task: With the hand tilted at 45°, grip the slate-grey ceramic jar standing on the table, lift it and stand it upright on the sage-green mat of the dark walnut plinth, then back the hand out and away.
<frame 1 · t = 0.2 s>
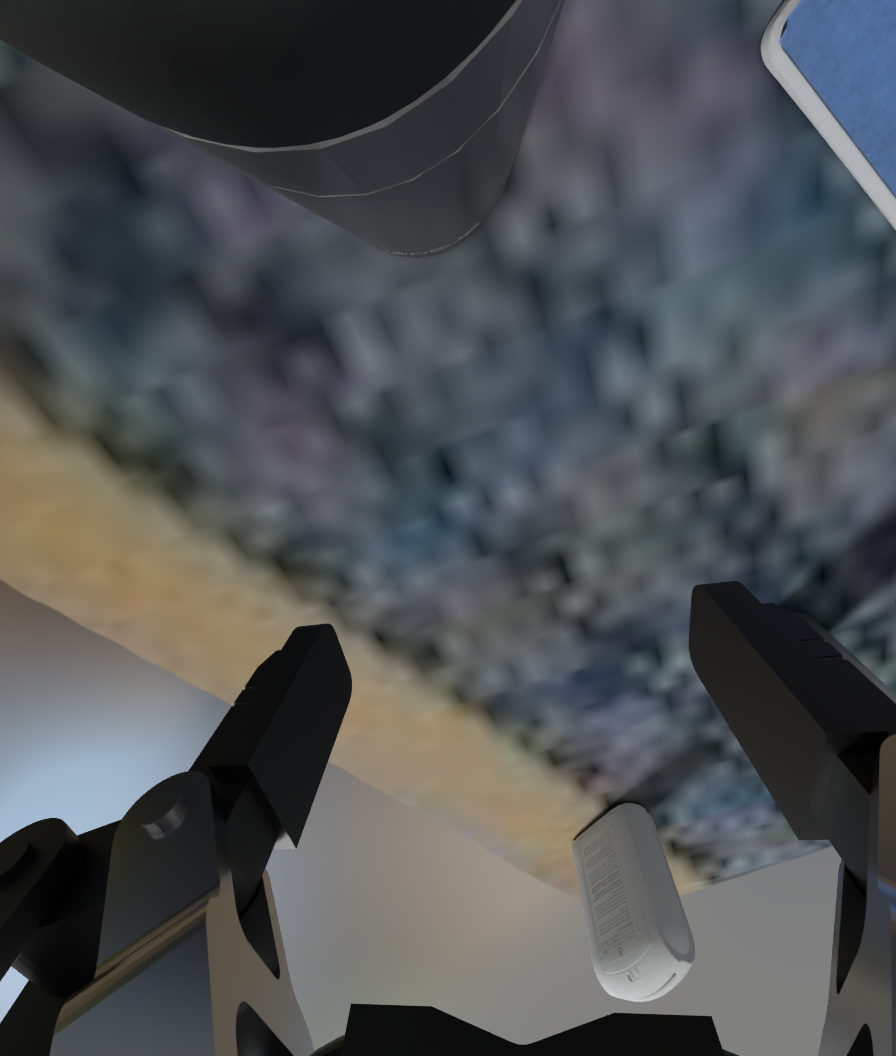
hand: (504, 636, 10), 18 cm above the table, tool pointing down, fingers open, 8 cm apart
ceramic jar: (781, 638, 31), on the table
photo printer: (607, 824, 45), on the table
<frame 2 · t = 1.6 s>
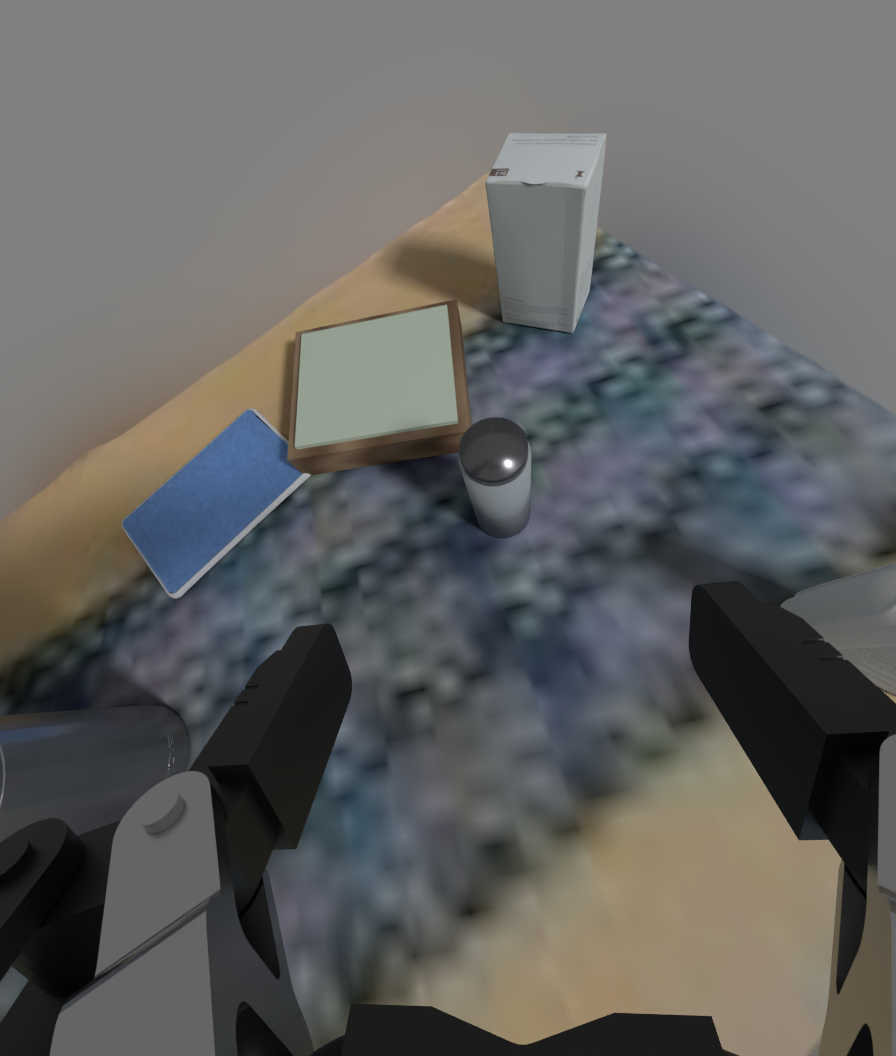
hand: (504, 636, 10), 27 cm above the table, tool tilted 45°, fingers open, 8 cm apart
plinth: (385, 398, 46), on the table
blue notebook: (222, 500, 46), on the table
ceramic jar: (502, 512, 39), on the table
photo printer: (849, 646, 31), on the table
skincare box: (542, 311, 46), on the table
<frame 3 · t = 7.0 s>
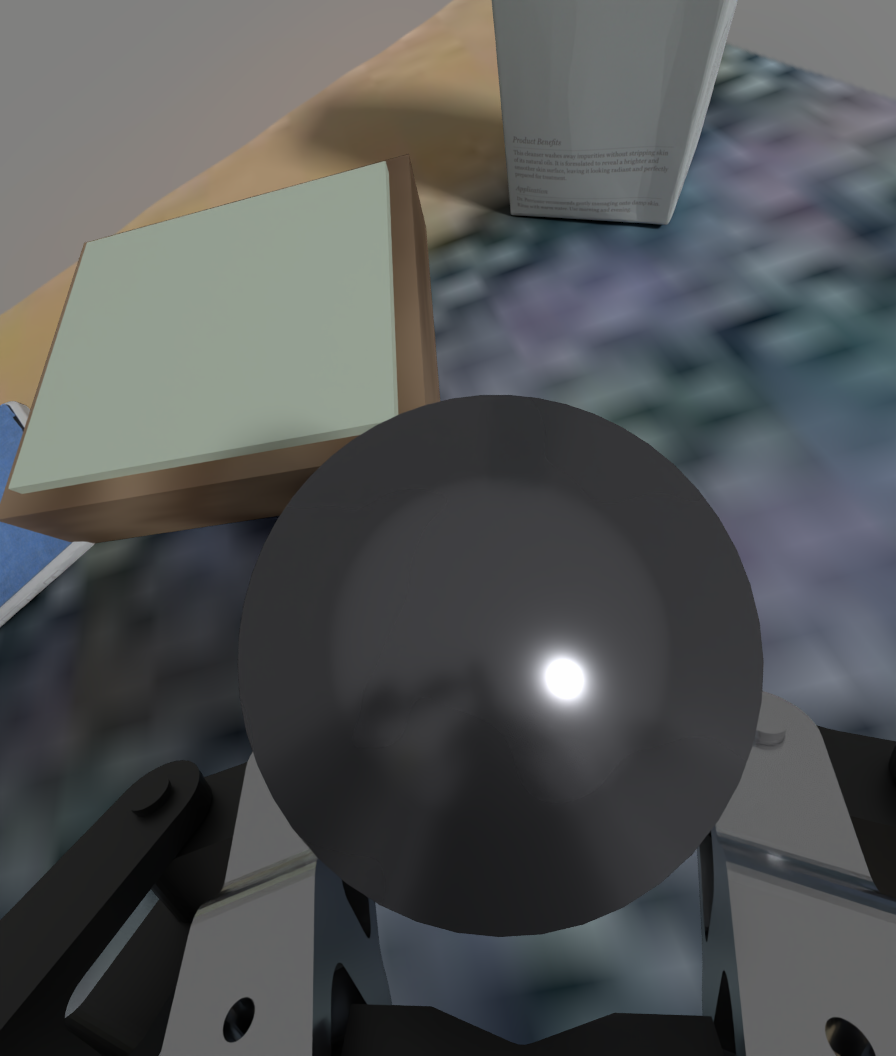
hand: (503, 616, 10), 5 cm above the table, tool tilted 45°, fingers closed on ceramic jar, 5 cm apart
plinth: (264, 375, 22), on the table
ceramic jar: (516, 661, 15), on the table, touching gripper
skincare box: (594, 190, 22), on the table
when the fingers open (11 cm above the table, at t = 13.5 s): ceramic jar drops 1 cm, resting on plinth.
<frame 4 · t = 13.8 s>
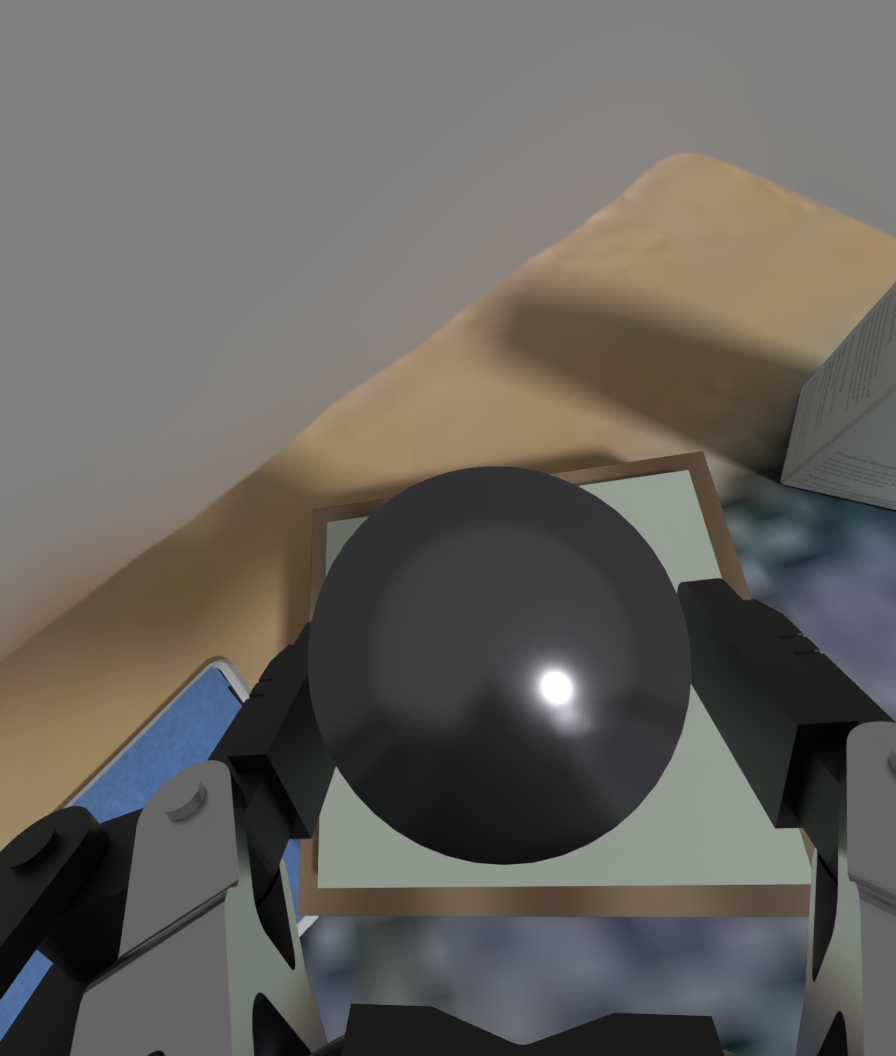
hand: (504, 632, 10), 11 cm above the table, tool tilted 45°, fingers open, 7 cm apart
plinth: (520, 665, 20), on the table
blue notebook: (151, 895, 20), on the table
ceramic jar: (516, 665, 16), point 4 cm above the table, touching plinth
skincare box: (873, 459, 20), on the table
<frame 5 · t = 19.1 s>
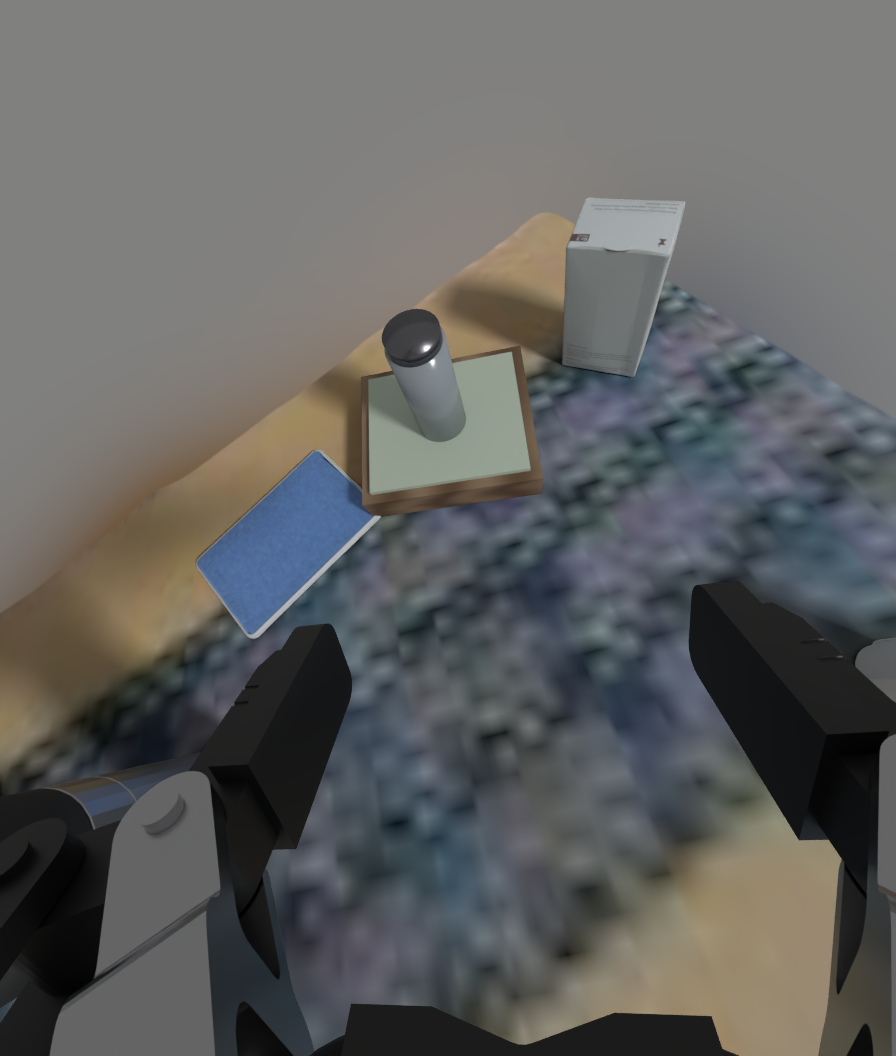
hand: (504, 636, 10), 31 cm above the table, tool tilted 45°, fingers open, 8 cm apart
plinth: (449, 440, 47), on the table
blue notebook: (292, 540, 48), on the table
ceramic jar: (442, 420, 44), point 4 cm above the table, touching plinth
skincare box: (601, 354, 48), on the table
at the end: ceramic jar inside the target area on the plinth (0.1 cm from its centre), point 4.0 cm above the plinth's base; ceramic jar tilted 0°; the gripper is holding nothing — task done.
